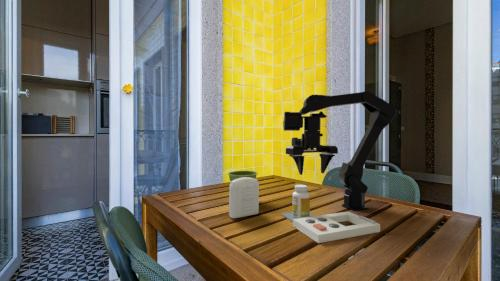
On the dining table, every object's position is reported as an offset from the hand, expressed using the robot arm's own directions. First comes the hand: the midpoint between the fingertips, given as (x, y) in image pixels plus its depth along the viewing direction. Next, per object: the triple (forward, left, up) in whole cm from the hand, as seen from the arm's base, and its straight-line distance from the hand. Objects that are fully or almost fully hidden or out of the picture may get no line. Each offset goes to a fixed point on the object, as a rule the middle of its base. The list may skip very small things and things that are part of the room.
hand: (311, 173), depth 90 cm
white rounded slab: (+26, 0, -12) cm, 29 cm away
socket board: (+6, +20, -12) cm, 24 cm away
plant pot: (+21, -16, -12) cm, 29 cm away
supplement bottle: (+10, +9, -12) cm, 18 cm away
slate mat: (+10, +9, -12) cm, 18 cm away
